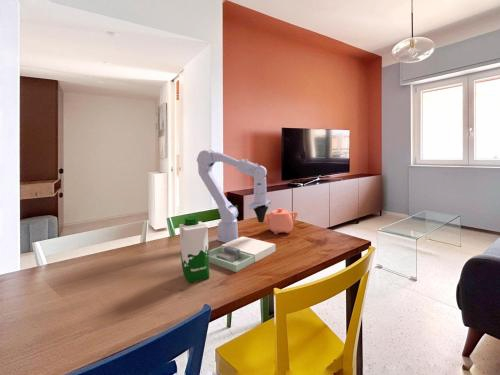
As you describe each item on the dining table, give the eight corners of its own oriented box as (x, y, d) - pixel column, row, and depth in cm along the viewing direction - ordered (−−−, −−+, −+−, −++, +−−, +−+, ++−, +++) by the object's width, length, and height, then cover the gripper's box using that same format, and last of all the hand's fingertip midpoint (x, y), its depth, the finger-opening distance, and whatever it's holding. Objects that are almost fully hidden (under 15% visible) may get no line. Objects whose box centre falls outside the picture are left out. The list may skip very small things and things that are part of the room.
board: (221, 251, 113) (221, 245, 113) (243, 242, 124) (242, 236, 124) (255, 262, 102) (254, 254, 102) (275, 251, 113) (275, 244, 112)
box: (202, 260, 105) (201, 253, 105) (220, 252, 113) (220, 246, 113) (236, 272, 94) (236, 265, 94) (254, 262, 102) (254, 256, 101)
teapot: (257, 228, 145) (257, 206, 144) (293, 226, 148) (293, 204, 146) (262, 236, 132) (261, 212, 130) (301, 234, 135) (301, 210, 133)
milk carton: (204, 268, 98) (201, 214, 95) (213, 278, 90) (210, 220, 87) (180, 274, 93) (176, 218, 91) (186, 285, 86) (183, 224, 83)
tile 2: (228, 255, 108) (224, 257, 106) (228, 246, 108) (224, 247, 106) (239, 259, 104) (235, 261, 102) (239, 249, 104) (235, 251, 102)
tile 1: (223, 251, 106) (224, 257, 106) (216, 255, 103) (216, 261, 103) (235, 255, 102) (235, 261, 102) (227, 258, 99) (228, 264, 99)
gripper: (257, 195, 114) (258, 226, 115) (276, 191, 125) (276, 219, 127) (244, 194, 118) (245, 224, 120) (264, 190, 129) (264, 217, 131)
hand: (260, 221), depth 124 cm, fingers closed
